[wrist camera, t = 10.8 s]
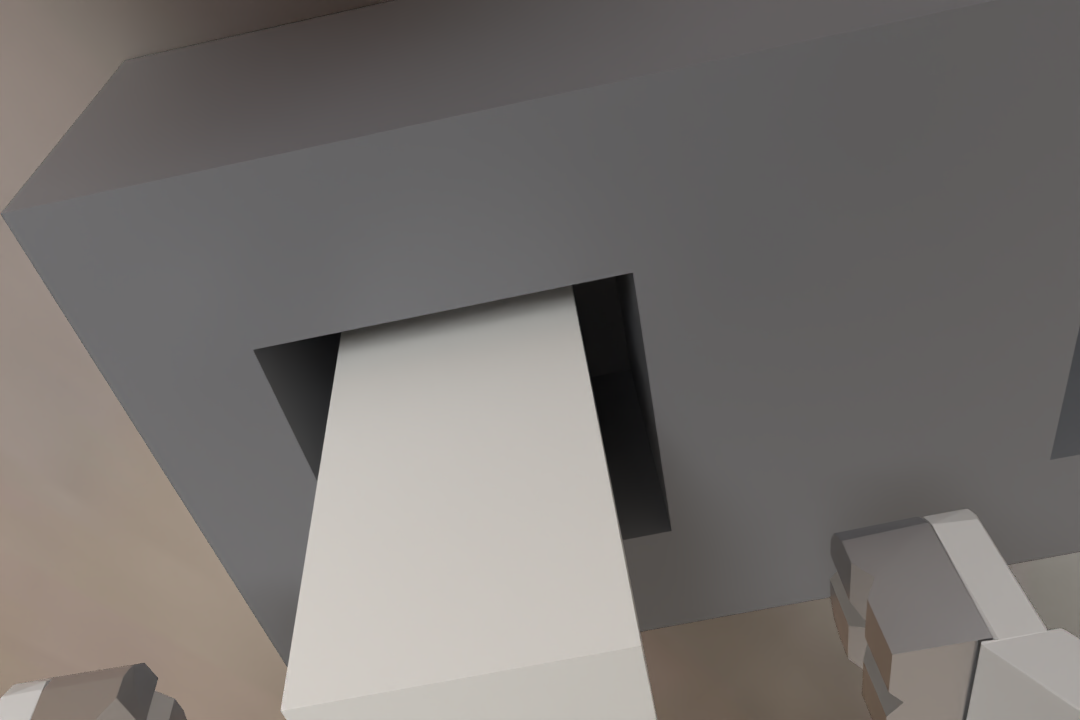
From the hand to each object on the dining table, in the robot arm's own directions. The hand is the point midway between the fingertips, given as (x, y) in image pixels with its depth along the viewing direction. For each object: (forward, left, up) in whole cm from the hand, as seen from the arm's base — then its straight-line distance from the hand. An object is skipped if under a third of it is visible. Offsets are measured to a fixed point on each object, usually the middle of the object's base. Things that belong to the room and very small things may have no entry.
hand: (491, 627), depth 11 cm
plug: (0, 0, -7) cm, 7 cm away
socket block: (0, +5, -8) cm, 10 cm away
